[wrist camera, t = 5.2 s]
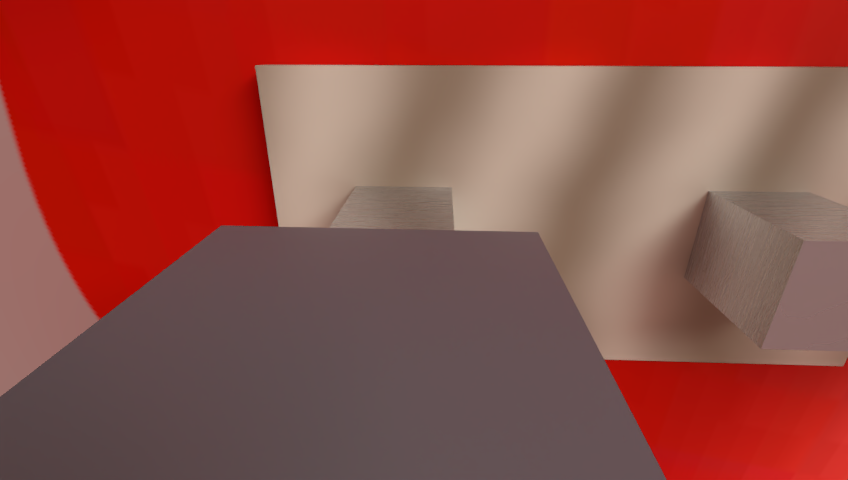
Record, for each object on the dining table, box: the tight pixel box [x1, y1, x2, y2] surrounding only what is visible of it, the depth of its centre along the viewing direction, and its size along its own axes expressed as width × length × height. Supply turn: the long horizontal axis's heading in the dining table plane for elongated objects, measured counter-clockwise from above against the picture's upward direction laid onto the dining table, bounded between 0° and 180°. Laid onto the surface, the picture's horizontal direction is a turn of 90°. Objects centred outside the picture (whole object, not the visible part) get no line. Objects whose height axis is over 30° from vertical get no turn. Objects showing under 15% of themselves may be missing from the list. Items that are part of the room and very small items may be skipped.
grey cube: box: [684, 191, 848, 351], centre depth 14 cm, size 4×4×4 cm
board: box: [255, 65, 848, 366], centre depth 17 cm, size 24×12×1 cm, turn 90°
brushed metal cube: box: [329, 186, 454, 230], centre depth 15 cm, size 4×4×4 cm
